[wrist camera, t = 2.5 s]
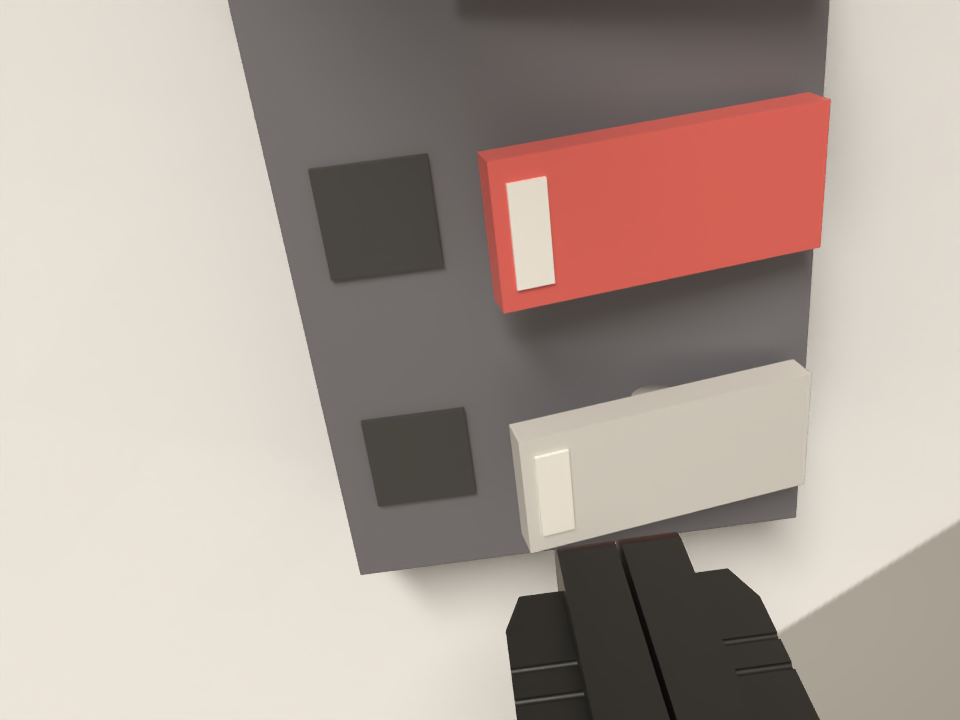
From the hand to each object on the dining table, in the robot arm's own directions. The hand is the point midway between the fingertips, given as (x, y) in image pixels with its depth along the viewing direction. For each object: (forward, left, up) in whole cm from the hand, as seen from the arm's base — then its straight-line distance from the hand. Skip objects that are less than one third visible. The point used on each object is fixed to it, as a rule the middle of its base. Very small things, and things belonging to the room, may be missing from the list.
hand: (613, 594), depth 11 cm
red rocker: (-4, 0, -14) cm, 15 cm away
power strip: (-1, 0, -20) cm, 20 cm away
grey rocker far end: (-4, +8, -14) cm, 17 cm away
